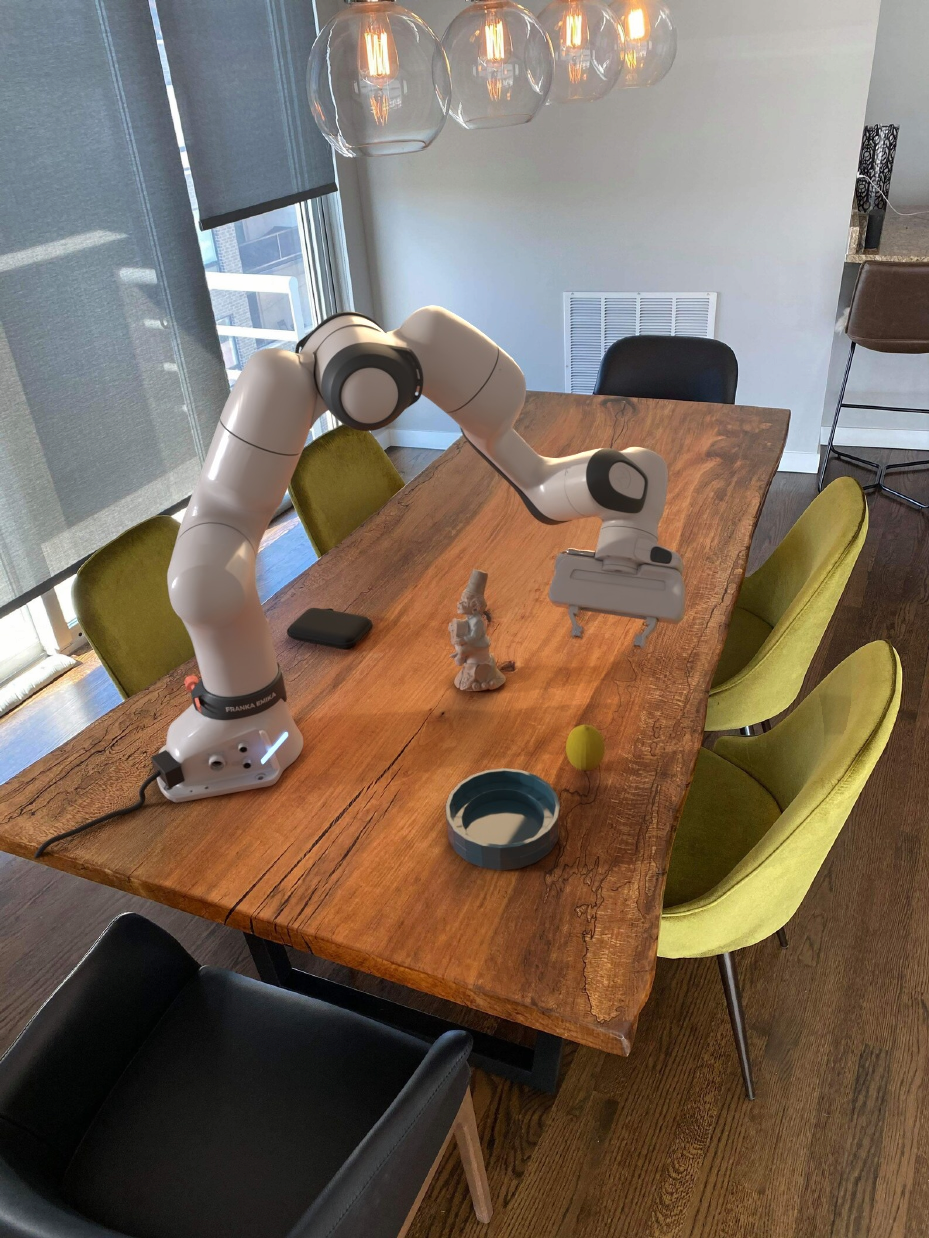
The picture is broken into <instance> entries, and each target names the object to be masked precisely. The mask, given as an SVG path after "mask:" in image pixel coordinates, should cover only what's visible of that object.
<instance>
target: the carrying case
mask: <svg viewBox="0 0 929 1238" xmlns="http://www.w3.org/2000/svg"><path fill="white" fill-rule="evenodd" d="M373 628H374V623H373V621H372V620H371V619H370V618H369V617H368V616H364V615H360V614H354V613H348V612H343V611H337V610H335V609H333V608H331V607H330V608H329V607H328V608H319V607H309V608H307V610H305V611H304V612H303V613H302V614H301V615H300V616H299V617H297V618H296V619H295V620H294V621H293V622H292V623H291V624H290V625H289V626H288V627H287V629H286V635H287V636H288V637H289V638H290V639H291V640H294V641H297V642H303V643H307V644H312V645H317V646H321V647H328V648H331V649H332V648H333V649H337V650H343V651H350V650H352V649H354V648H355V647H356V646H357V645H358V644H359V643H360V642H361V641H362V640H363V638H364V637H366V635H367V634H368V633H370V631H372V629H373Z"/></svg>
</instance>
